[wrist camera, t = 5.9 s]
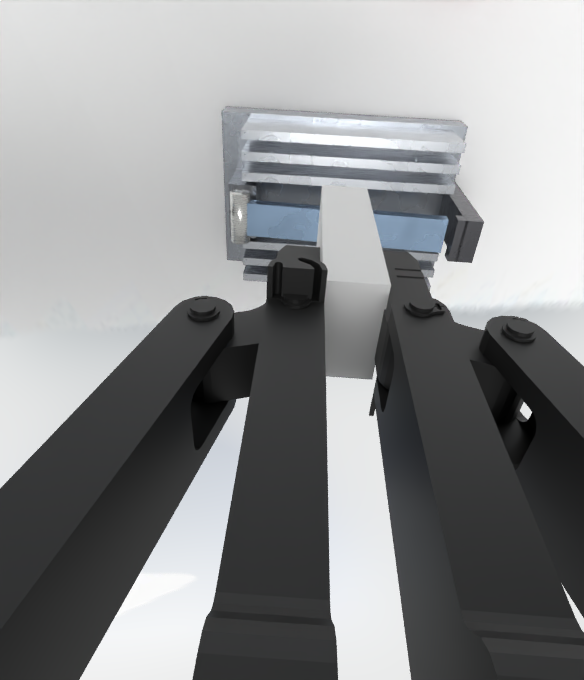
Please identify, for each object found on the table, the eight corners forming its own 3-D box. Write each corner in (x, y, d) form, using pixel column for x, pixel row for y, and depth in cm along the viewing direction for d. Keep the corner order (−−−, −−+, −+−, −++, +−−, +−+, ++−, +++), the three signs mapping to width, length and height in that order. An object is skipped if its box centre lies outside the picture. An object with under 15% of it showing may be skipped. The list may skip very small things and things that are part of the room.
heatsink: (231, 250, 43) (212, 299, 36) (226, 106, 36) (202, 132, 29) (433, 263, 43) (455, 316, 36) (469, 121, 36) (504, 151, 29)
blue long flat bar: (233, 235, 36) (229, 243, 35) (232, 188, 34) (228, 194, 32) (436, 253, 35) (439, 262, 34) (448, 206, 33) (451, 213, 32)
